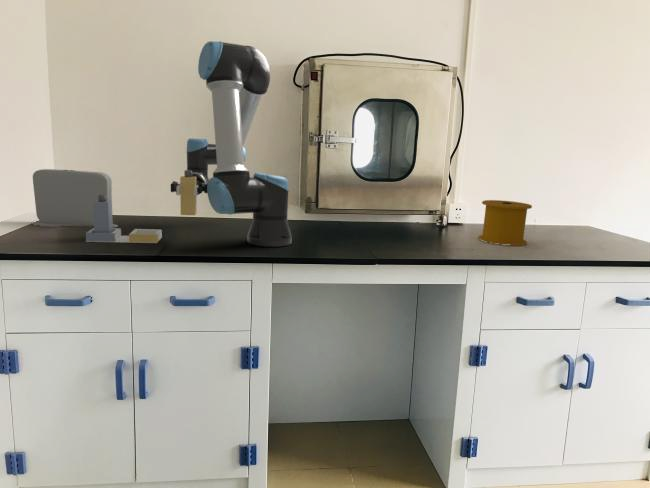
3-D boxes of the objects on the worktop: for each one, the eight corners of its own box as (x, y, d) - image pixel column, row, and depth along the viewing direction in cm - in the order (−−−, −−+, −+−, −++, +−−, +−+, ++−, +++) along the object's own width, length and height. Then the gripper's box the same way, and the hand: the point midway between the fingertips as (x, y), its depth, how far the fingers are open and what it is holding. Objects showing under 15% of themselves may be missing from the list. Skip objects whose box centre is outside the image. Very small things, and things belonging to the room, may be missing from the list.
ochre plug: (196, 213, 172) (196, 170, 170) (195, 215, 168) (194, 171, 165) (182, 212, 172) (182, 169, 169) (180, 215, 167) (180, 170, 165)
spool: (515, 248, 191) (520, 207, 187) (469, 239, 202) (474, 201, 199) (534, 242, 204) (539, 204, 200) (490, 234, 215) (494, 198, 212)
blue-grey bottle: (113, 237, 171) (111, 194, 168) (109, 240, 166) (107, 196, 163) (98, 236, 170) (96, 193, 167) (94, 239, 166) (92, 195, 163)
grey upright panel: (122, 226, 195) (120, 171, 190) (109, 230, 185) (106, 174, 181) (42, 220, 197) (39, 166, 193) (25, 225, 188) (21, 168, 183)
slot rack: (162, 239, 176) (162, 229, 175) (157, 246, 166) (156, 235, 165) (94, 237, 173) (94, 227, 172) (85, 244, 163) (84, 233, 162)
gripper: (219, 195, 188) (215, 203, 165) (169, 193, 185) (157, 202, 163) (219, 174, 186) (215, 180, 164) (168, 172, 184) (157, 178, 161)
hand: (186, 191), depth 163 cm, fingers closed on ochre plug, 4 cm apart
